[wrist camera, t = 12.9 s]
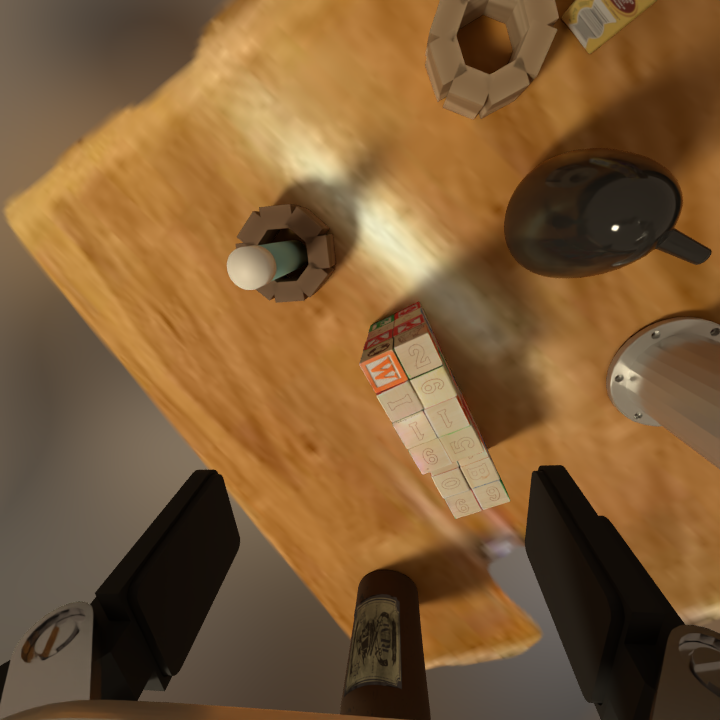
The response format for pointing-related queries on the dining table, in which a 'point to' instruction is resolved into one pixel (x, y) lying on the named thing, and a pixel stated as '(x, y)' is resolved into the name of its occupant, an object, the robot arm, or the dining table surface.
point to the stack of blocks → (430, 411)
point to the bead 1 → (310, 230)
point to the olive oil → (386, 651)
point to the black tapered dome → (596, 214)
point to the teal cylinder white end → (265, 262)
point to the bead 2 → (473, 87)
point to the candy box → (601, 19)
